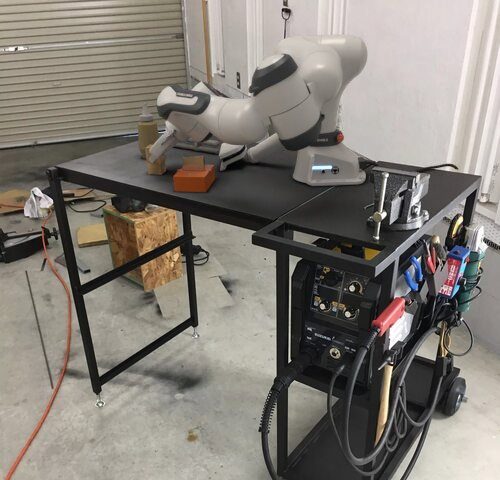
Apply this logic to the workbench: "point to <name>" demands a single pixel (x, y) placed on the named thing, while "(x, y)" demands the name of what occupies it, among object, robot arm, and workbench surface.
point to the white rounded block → (231, 154)
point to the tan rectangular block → (193, 163)
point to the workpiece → (155, 163)
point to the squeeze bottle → (147, 130)
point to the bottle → (264, 148)
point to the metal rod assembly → (200, 146)
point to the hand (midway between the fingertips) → (153, 158)
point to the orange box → (194, 180)
